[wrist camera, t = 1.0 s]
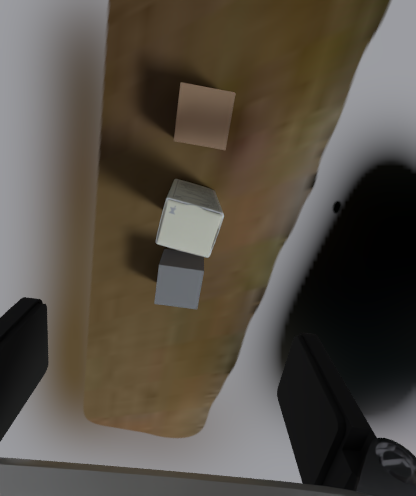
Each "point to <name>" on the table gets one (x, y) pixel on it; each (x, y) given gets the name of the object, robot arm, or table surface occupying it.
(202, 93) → the tan cube
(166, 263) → the grey cube
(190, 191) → the box
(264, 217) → the table surface
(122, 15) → the table surface
